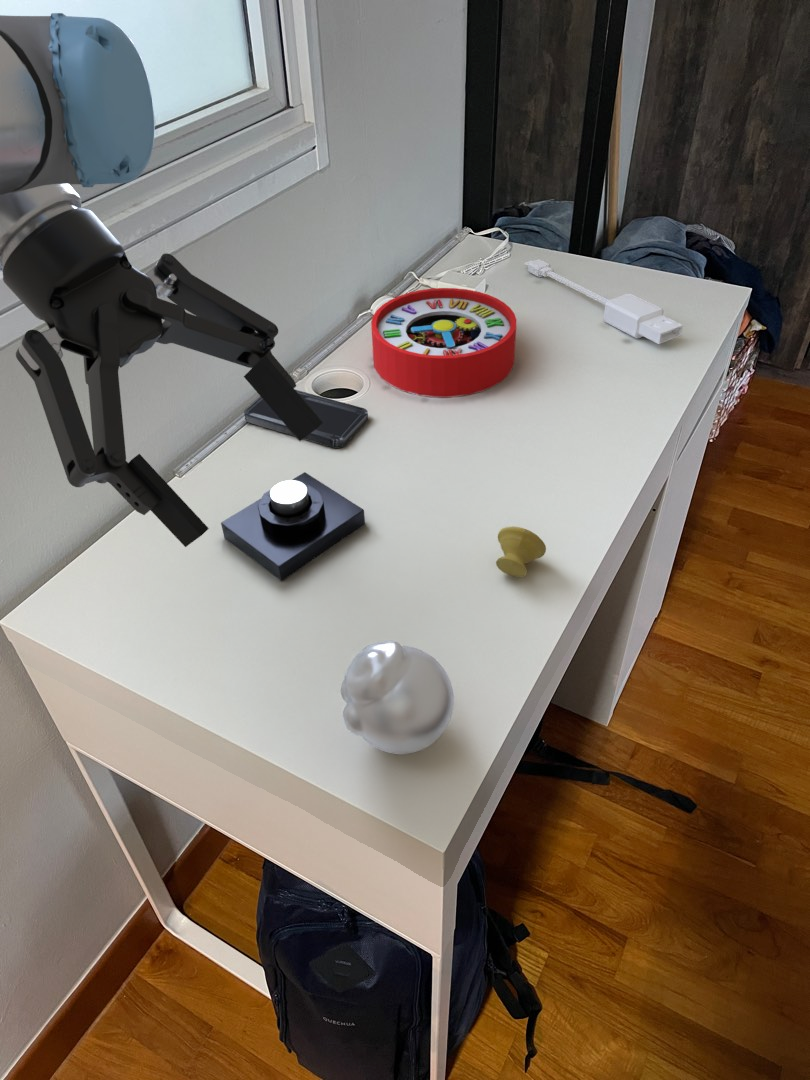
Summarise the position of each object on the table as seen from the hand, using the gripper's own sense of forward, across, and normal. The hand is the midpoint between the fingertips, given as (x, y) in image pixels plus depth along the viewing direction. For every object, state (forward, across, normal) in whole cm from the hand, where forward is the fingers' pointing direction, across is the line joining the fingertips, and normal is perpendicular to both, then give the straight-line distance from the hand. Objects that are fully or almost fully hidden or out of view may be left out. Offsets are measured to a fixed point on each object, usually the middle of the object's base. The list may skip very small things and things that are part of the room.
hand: (258, 481), depth 59 cm
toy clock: (+7, -57, -27) cm, 63 cm away
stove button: (+6, -17, -23) cm, 29 cm away
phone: (0, -35, -33) cm, 49 cm away
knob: (+25, -23, -9) cm, 35 cm away
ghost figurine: (+24, 0, -9) cm, 26 cm away
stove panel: (+8, -17, -25) cm, 32 cm away
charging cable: (+16, -81, -18) cm, 85 cm away
